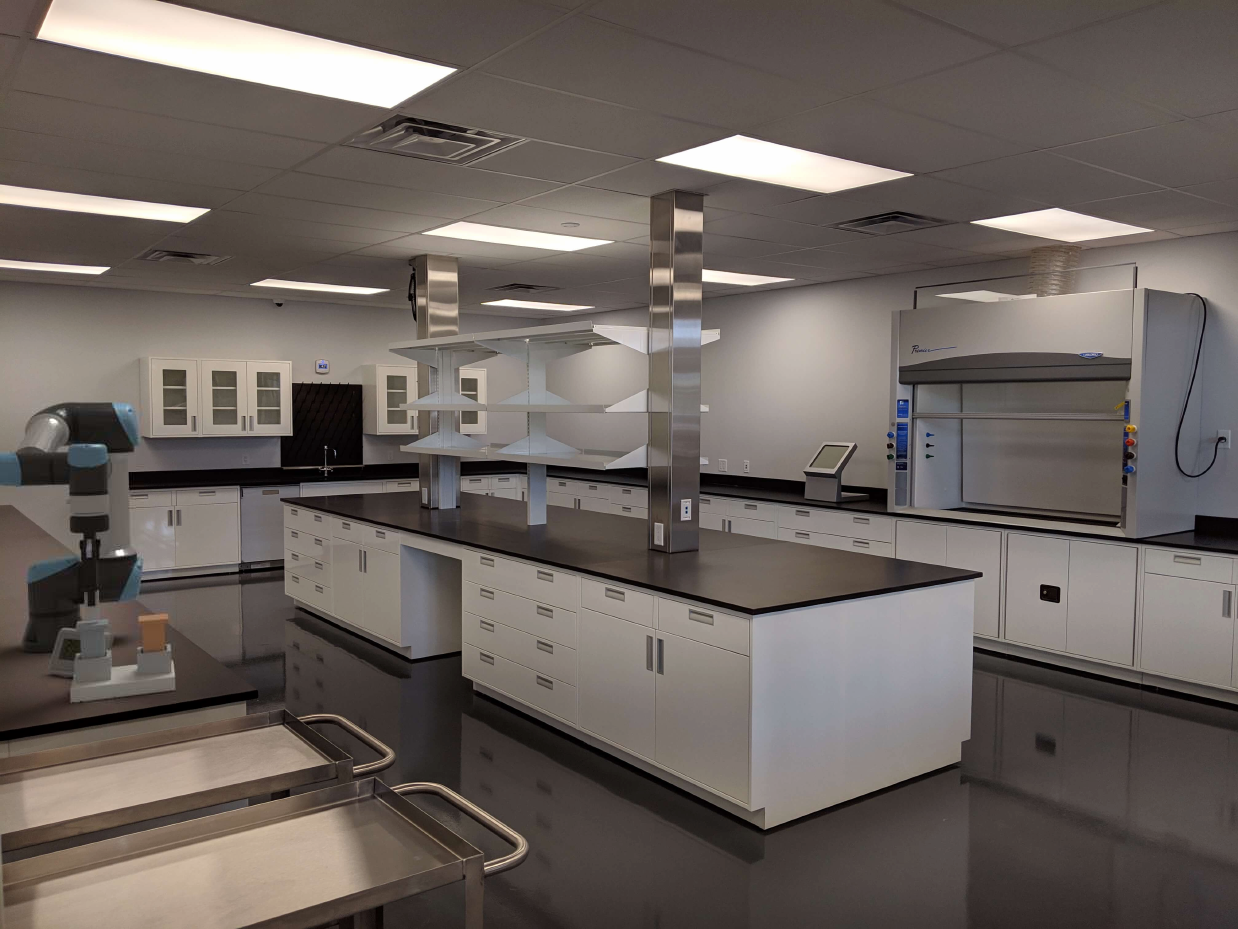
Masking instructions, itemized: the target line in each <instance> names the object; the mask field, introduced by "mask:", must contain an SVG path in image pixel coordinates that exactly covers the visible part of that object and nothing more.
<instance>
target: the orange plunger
mask: <svg viewBox="0 0 1238 929" xmlns="http://www.w3.org/2000/svg"><path fill="white" fill-rule="evenodd" d="M137 617H138V620H137V621H138V625H137V626H138V627H142V647H143V653H147V652H156V651H165V644H166V642H165V641H166V634H165V633H166V632H165V628H166V627H165V624H169V614H168V613H159V614H149V615H148V614H147V615H138V616H137Z"/></svg>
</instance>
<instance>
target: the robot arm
mask: <svg viewBox="0 0 1238 929" xmlns="http://www.w3.org/2000/svg"><path fill="white" fill-rule="evenodd" d="M138 424H139V423H138V420H137V414H136V411H135V408H134V406H132V405H131V404H130V403H124V402H115V401H112V402H109V401H108V402H87V401H86V402H75V401H74V402H73V401H72V402H71V401H70V402H69V401H67V402H61V403H56V404H53V405H51V406H48V407H45V408H44V409H41V410H40V411H38V412H36V413H35V414H34V415H32V416H31V417H30V419H29V420H28V421H27V423H26V425H25V428H24V437H23V439H22V440H21V442H20V443H19V445H18V447H17V449H16V451H15V452H14V451H9V452H1V453H0V486H3V487H8V486H9V487H16V488H17V487H32V486H33V487H35V486H37V487H38V486H68V490H69V492H68V495H69V499H66V501H65V504H67V505H69V513H70V514H72V515H71V516H70V517H69V531H70V532H71V533H72V534H83V535H82V536H83V539H80V540H79V542H78V544H79V549H80V557H79V556H78V555H66V556H65V555H64V556H58V557H52V558H47V559H43V560H40V561H37V562H35V563H32V564H31V565H30V566H29V567H28V569H27V580H26V584H27V599H28V600H27V602H28V606H27V607H28V620H27V624H26V626H25V629H24V634H23V636H22V638H21V650H22V651H23V652H27V653H51V652H52V653H53V650H54V647H55V643H56V640H57V636H58V633H59V631H60V630H61V629H62V628H72V629H75V628H76V625H77V622H78V621H94V620H100V604H105V603H110V604H111V603H118V604H119V603H122V602H132V601H135V600H136V599H137V598H138V596H139V595H140V588H141V582H142V576H143V567H144V566H143V565H144V559H143V557H141V556H139V557H138V551H137V550H136V549H135V547H133V546H132V545H131V521H130V520H131V519H130V518H131V517H130V486H129V484H130V483H129V482H130V480H129V478H130V477H129V459H130V457H131V456H132V455H133V454H134V453H135V447H138V446H139V447H140V445H141V437H140V431H139V425H138ZM61 447H68V448H67V451H59V448H61ZM80 559H81V560H80ZM81 605H82V606H83V605H84V620H83V617H82V615H81Z"/></svg>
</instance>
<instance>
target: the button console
mask: <svg viewBox="0 0 1238 929" xmlns="http://www.w3.org/2000/svg"><path fill="white" fill-rule="evenodd" d="M136 649H137V651H136V660H137V661H136V662H137V663H136V664H130V665H129V664H128V665H122V666H120V665H119V666H113V664H112V663H113V662H112V658H113V657H112V649H111V650H107V651H105V657H99V658H90V659H81V653H78V654H76V657H75V660H74V668H75V674H74V678H72V682H71V686H70V692H69V693H70V704H73V703H72V702H75V703H81V702H80V701H83V702H90V701H96V700H104V699H105V700H106V698H107V699H114V697H115V698H121V697H129V696H137V695H138V696H139V695H147V694H153V693H162V692H163V693H164V692H169V691H170V692H171V691H176V673H175V665H174V660H172V647H171V644H170V643H168V644H166V643H165V651H156V652H147V653H143V646H138V647H137V648H136Z"/></svg>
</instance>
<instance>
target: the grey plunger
mask: <svg viewBox="0 0 1238 929" xmlns="http://www.w3.org/2000/svg"><path fill="white" fill-rule="evenodd" d="M109 623H110V622H109V618H102V619H100V618H99V620H94V621H85V620H83V621H78V622H77V625H76V632H78V631H80V637H81V659H90V658H99V657H105V632H106V631H105V630H107V629H109Z"/></svg>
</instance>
